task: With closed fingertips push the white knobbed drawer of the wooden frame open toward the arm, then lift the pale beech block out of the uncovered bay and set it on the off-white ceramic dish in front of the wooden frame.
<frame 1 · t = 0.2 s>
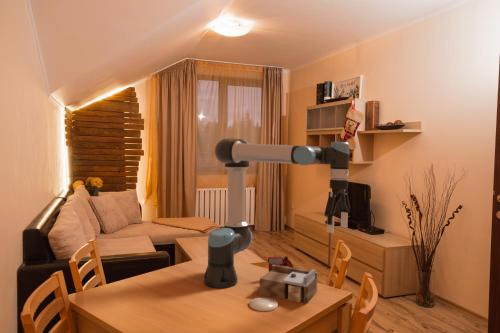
hand: (337, 229, 153), 27 cm above the table, fingers open, 13 cm apart
wooden frame: (285, 295, 151), on the table
toy fire truck: (280, 279, 172), on the table
dish: (263, 305, 142), on the table
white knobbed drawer: (299, 275, 151), point 8 cm above the table, slide at 0.0 cm
block: (295, 298, 148), on the table
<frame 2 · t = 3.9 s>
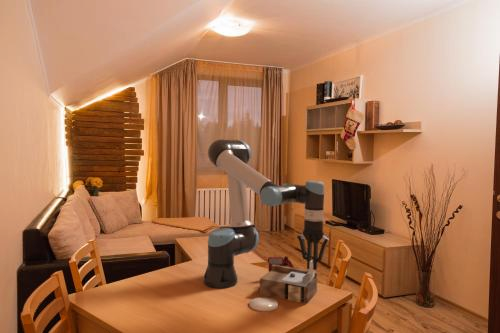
hand: (311, 277, 149), 9 cm above the table, fingers closed
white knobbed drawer: (298, 275, 151), point 8 cm above the table, slide at 0.4 cm, touching gripper
everything else where it was.
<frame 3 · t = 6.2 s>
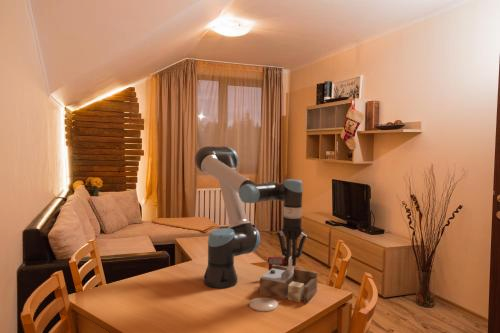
hand: (290, 272, 153), 9 cm above the table, fingers closed
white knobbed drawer: (278, 272, 155), point 8 cm above the table, slide at 9.3 cm, touching gripper
everything else where it was.
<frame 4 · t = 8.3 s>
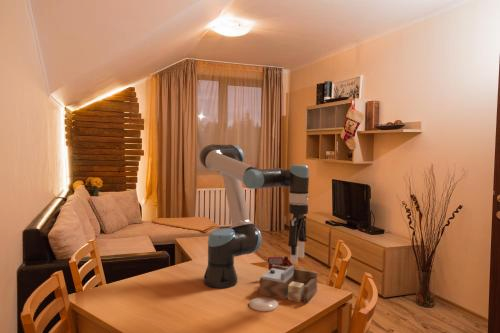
hand: (297, 259, 148), 16 cm above the table, fingers open, 8 cm apart
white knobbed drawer: (278, 272, 155), point 8 cm above the table, slide at 9.4 cm
everything else where it was.
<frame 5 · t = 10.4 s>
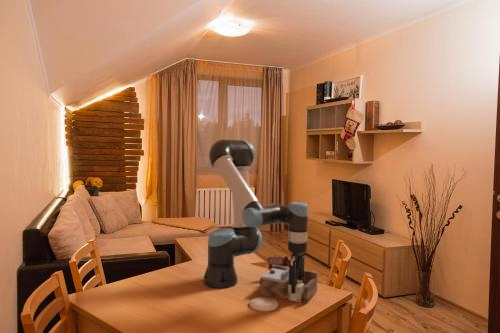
hand: (296, 298, 148), 0 cm above the table, fingers closed on block, 5 cm apart
block: (296, 298, 148), on the table, touching gripper
everything else where it was.
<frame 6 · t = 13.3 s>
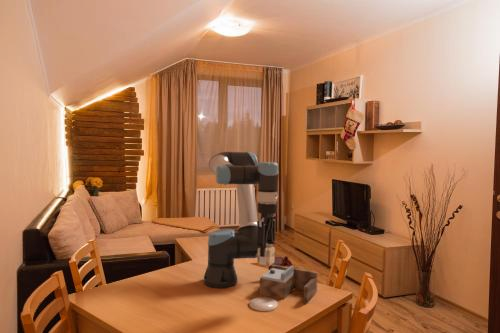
hand: (265, 262, 141), 17 cm above the table, fingers closed on block, 5 cm apart
block: (265, 263, 141), point 16 cm above the table, touching gripper
everything else where it was.
when the fingers open (3 cm above the table, at t = 16.3 s): block drops 2 cm, resting on dish.
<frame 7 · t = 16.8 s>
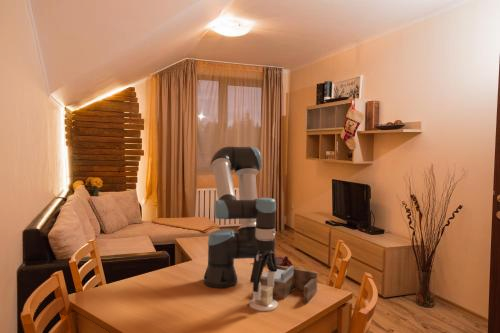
hand: (263, 293, 141), 5 cm above the table, fingers open, 13 cm apart
block: (263, 303, 142), point 1 cm above the table, touching dish
everything else where it was.
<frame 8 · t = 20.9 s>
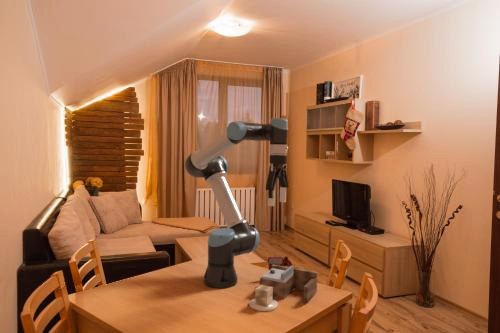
hand: (277, 203, 158), 37 cm above the table, fingers open, 13 cm apart
nothing on the table moved.
at the end: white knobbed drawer slide at 9.4 cm; block inside the target area on the dish (0.1 cm from its centre), point 0.8 cm above the dish's base; the gripper is holding nothing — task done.
